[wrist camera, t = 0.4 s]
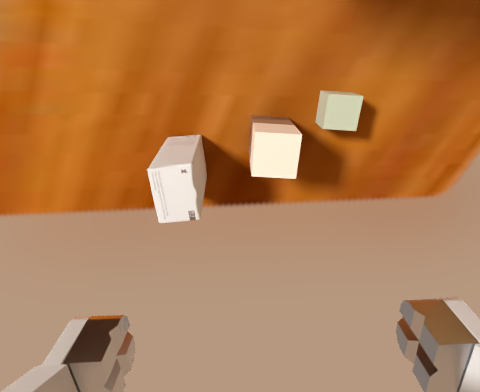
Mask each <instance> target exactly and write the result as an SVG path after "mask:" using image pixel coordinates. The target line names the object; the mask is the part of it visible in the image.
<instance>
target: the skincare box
mask: <svg viewBox="0 0 480 392" xmlns="http://www.w3.org/2000/svg"><path fill="white" fill-rule="evenodd" d="M147 171H148V176H149V181H150V185H151V190H152V195H153V199H154V204H155V208H156V213H157V217H158V221H159V223H167V222H178V221H189V220H199V219H200V216H201V211H202V204H203V199H204V193H205V186H206V180H207V171H206V163H205V156H204V149H203V145H202V136H201V135H190V136H178V137H168V138H167V139H166V141H165V142H164V144H163V146H162V147H161V149H160V150H159V152H158V153H157V155H156V157H155V158H154V160H153V161H152V163H151V165H150V166H149V168H148V169H147Z"/></svg>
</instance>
